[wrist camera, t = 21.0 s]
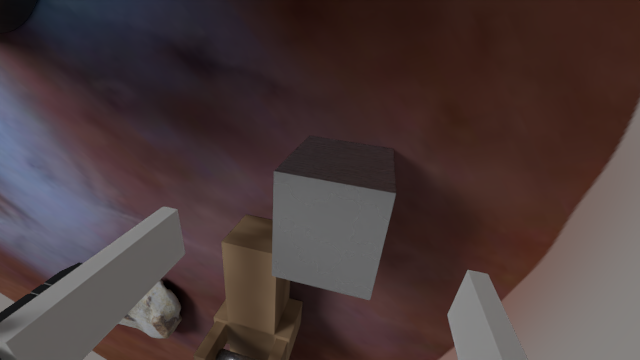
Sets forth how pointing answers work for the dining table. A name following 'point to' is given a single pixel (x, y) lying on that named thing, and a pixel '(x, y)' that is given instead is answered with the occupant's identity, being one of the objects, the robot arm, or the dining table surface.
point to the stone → (155, 312)
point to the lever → (231, 355)
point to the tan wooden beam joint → (252, 299)
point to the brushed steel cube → (332, 214)
